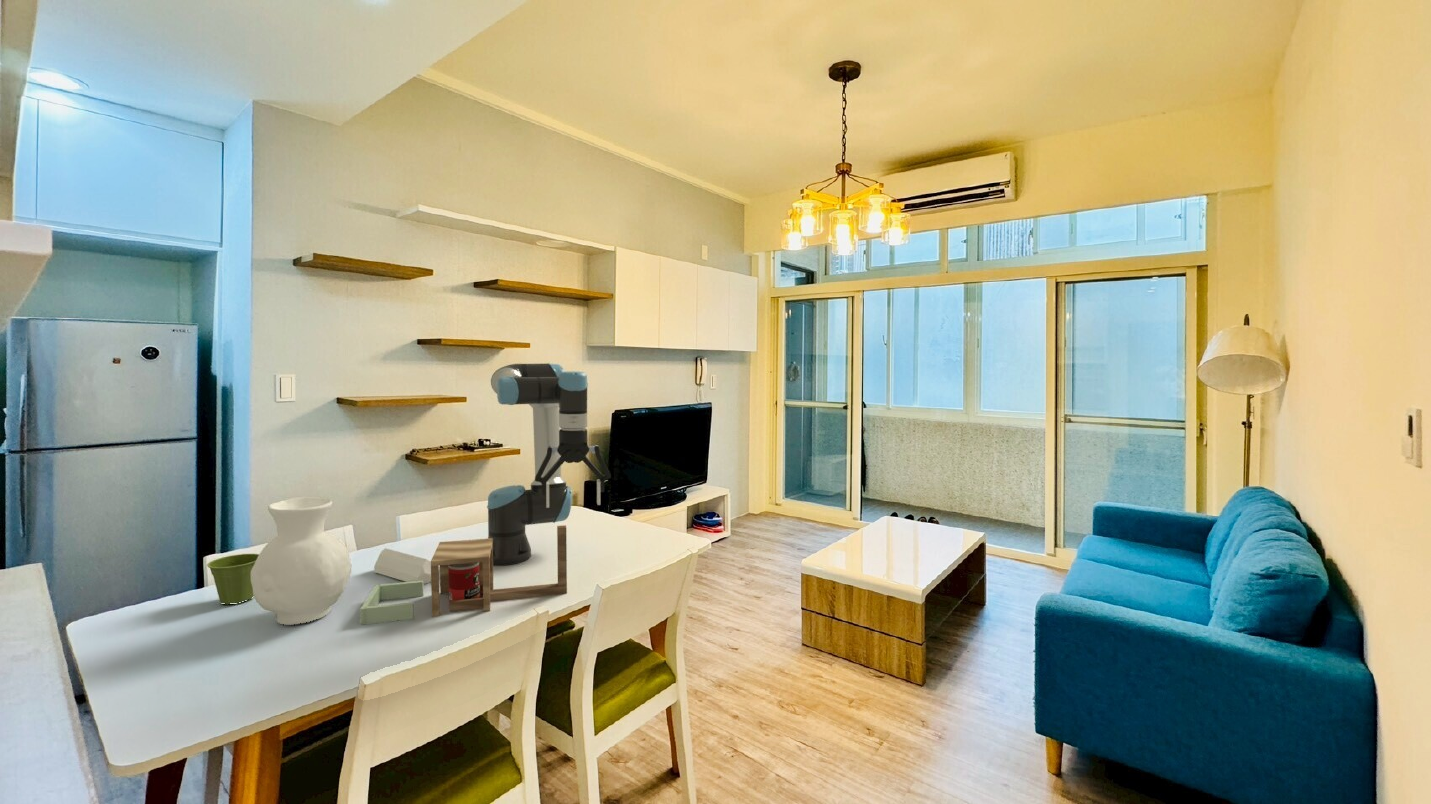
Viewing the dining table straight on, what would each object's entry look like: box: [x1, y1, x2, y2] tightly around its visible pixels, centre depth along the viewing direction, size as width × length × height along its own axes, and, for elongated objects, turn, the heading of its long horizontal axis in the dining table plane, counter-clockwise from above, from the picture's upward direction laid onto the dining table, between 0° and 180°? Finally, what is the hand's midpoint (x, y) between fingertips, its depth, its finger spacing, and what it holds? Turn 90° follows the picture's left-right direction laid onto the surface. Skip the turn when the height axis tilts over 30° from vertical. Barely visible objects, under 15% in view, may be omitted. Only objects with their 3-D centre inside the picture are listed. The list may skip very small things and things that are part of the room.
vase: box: [251, 496, 352, 626], centre depth 154 cm, size 19×21×30 cm
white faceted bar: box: [373, 547, 431, 585], centre depth 184 cm, size 7×7×24 cm
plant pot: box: [206, 553, 260, 605], centre depth 165 cm, size 12×12×11 cm
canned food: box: [448, 562, 481, 603], centre depth 166 cm, size 8×8×11 cm
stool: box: [430, 537, 494, 618], centre depth 166 cm, size 16×14×15 cm
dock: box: [359, 581, 425, 625], centre depth 161 cm, size 16×12×4 cm
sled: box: [449, 525, 568, 613], centre depth 169 cm, size 12×30×19 cm, turn 107°
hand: (573, 505), depth 167 cm, fingers open, 13 cm apart
